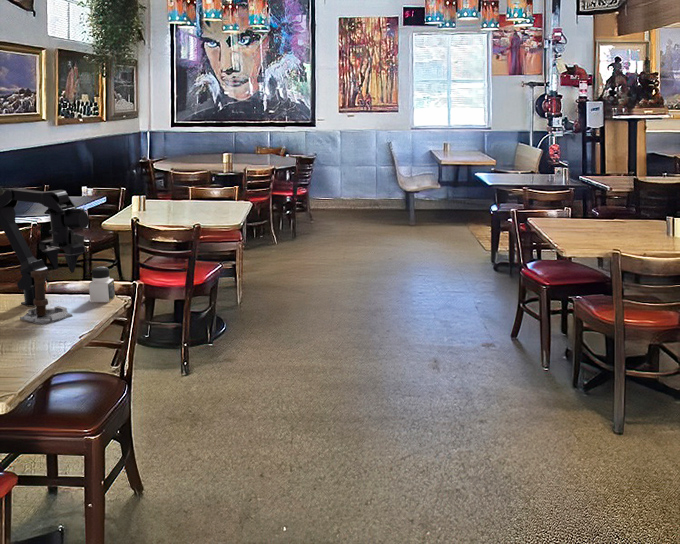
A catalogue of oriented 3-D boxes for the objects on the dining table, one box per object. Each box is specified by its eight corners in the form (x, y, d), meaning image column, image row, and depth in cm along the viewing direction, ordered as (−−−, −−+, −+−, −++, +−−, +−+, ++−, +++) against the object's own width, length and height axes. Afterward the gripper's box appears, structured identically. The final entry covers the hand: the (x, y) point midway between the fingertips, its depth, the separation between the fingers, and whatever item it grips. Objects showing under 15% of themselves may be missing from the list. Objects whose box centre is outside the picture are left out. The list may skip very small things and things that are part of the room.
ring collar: (17, 319, 271) (16, 313, 270) (51, 310, 281) (50, 304, 281) (41, 325, 263) (40, 319, 263) (75, 315, 274) (74, 309, 273)
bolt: (39, 317, 269) (36, 273, 266) (29, 315, 272) (26, 271, 269) (53, 314, 274) (51, 271, 271) (43, 312, 276) (41, 269, 274)
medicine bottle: (109, 302, 290) (107, 269, 287) (90, 302, 290) (87, 270, 288) (115, 297, 297) (112, 265, 294) (96, 297, 297) (93, 265, 294)
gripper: (96, 225, 280) (100, 269, 283) (63, 221, 290) (67, 263, 294) (69, 230, 271) (73, 276, 274) (35, 226, 281) (40, 269, 285)
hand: (64, 271), depth 282 cm, fingers open, 9 cm apart
